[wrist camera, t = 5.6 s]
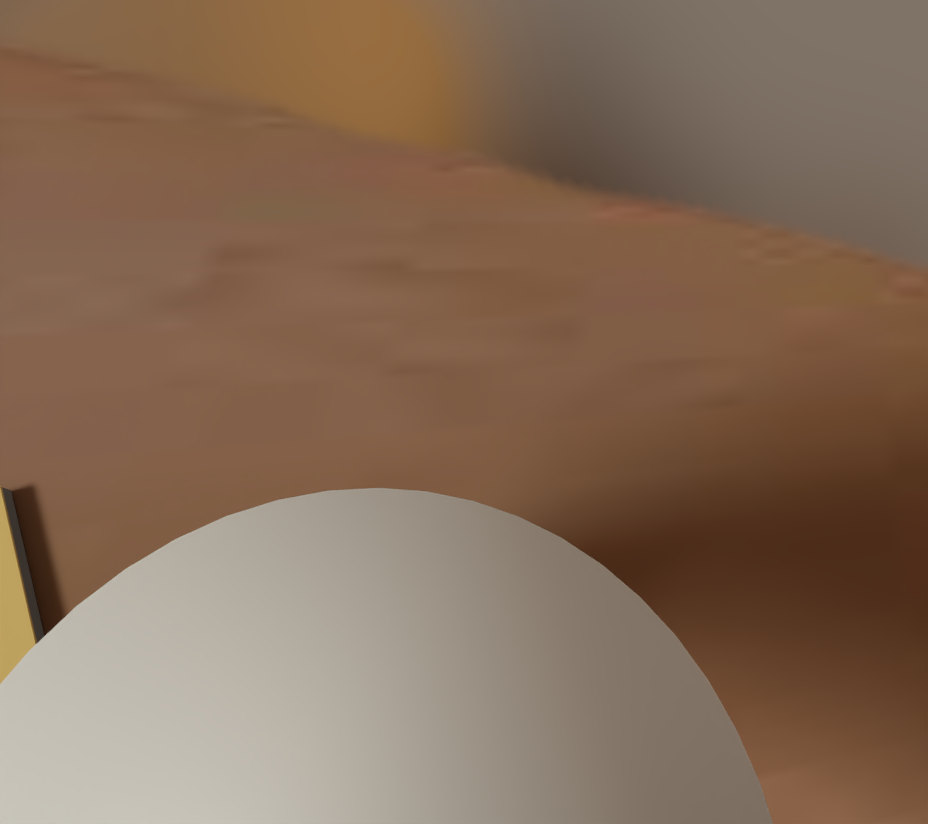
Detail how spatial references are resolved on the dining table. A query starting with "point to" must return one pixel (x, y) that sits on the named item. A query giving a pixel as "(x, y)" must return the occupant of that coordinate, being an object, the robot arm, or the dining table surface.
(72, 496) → the dining table surface
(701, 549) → the dining table surface
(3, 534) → the mat
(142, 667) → the skittle
